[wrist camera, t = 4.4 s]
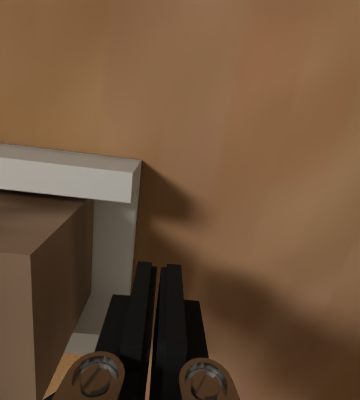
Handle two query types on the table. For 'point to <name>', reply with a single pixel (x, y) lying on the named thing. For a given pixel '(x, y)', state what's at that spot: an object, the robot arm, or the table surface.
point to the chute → (102, 224)
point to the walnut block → (40, 285)
